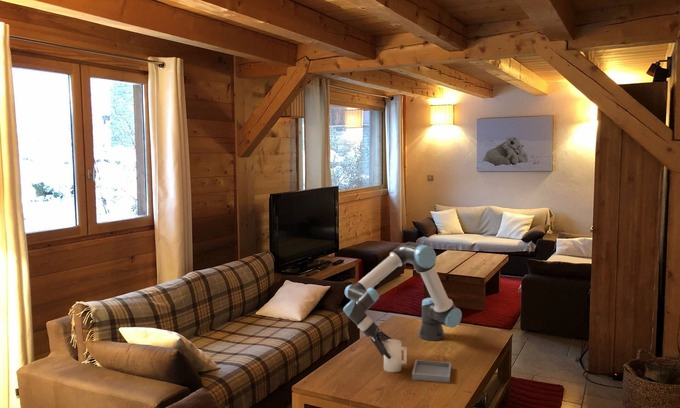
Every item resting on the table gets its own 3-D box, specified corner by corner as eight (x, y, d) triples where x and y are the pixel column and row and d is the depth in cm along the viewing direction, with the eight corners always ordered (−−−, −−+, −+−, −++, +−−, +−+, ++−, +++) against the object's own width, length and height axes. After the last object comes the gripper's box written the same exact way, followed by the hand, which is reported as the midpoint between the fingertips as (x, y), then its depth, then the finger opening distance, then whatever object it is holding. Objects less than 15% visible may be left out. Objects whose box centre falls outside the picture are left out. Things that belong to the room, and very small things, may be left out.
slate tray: (415, 365, 292) (415, 359, 292) (450, 368, 288) (451, 362, 288) (411, 379, 275) (411, 373, 275) (449, 382, 271) (449, 376, 270)
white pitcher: (385, 364, 293) (385, 338, 292) (407, 366, 291) (407, 340, 289) (382, 371, 285) (382, 344, 283) (405, 373, 282) (405, 346, 281)
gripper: (367, 323, 302) (394, 352, 300) (357, 339, 277) (388, 371, 276) (377, 314, 300) (405, 344, 298) (368, 329, 276) (399, 362, 274)
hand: (397, 357), depth 287 cm, fingers open, 13 cm apart
